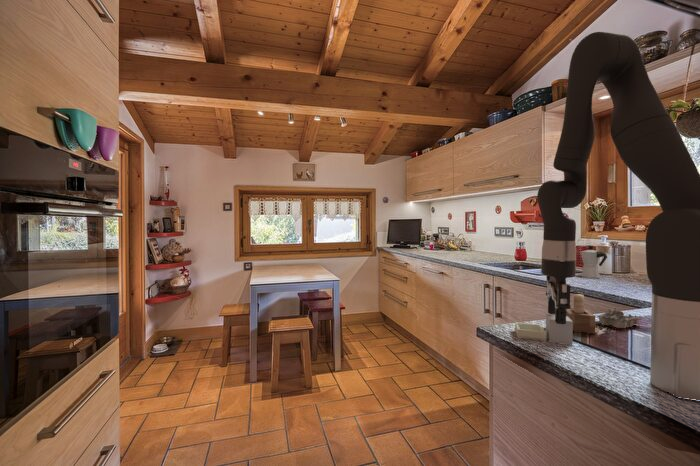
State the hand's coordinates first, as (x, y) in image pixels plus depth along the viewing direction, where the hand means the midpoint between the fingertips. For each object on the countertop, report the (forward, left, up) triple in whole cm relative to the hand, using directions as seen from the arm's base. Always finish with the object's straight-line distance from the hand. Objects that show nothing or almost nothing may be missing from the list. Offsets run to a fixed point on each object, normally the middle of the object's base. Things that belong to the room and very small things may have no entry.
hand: (556, 318), depth 84 cm
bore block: (+12, -8, -6) cm, 15 cm away
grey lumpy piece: (+21, -21, -6) cm, 30 cm away
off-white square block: (0, -1, -6) cm, 6 cm away
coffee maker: (+119, -41, -6) cm, 126 cm away
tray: (+1, +6, -6) cm, 8 cm away
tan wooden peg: (+12, -8, -6) cm, 15 cm away
